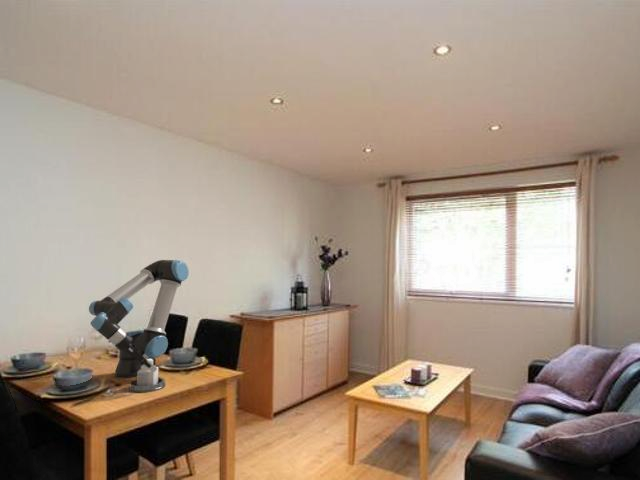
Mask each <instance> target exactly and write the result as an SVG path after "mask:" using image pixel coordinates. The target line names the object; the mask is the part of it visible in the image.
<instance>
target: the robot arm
mask: <svg viewBox="0 0 640 480" xmlns="http://www.w3.org/2000/svg"><path fill="white" fill-rule="evenodd" d="M188 276H189V267H188V265H187V263H186V262H184V261H183V260H178V259H159V260H156V261H154V262H151V263H150V264H148V265H147V266H145V267H144V268H143V269H141V270H140V272H139V273H138V274H137V275H136V276H134V277H133V278H131V279H130V280H128V281H127V282H126V283H124V284H123V285H121V286H120V287H118V288H117V289H115V290H114V291H113V292H110V294H108V295H107V296H105V297H104V298H102V299H101V300H94V301H92V302H91V303H90V304H89V306H88V312H89V313H90V314H91V315H92V316H95V317H94V318H93V319H91V321H90V326H92V327H93V329H94V330H95V332H98V333H99V334H101V336H103V337H104V338H105V339H106V340H108V342H107V343H111V344H112V345H114V346H115V347H116V349H118V350H119V357H118V358H119V359H118V363H117V365H116V368H115V371H114V376H115V378H121V379H127V378H128V379H130V378H136V377H137V372H138V371H139V370H140V369H141V366H142V365H144V366H145V367H146V368H147V369H148V370H150V371H151V372H152V373H154V372H155V371H156V370H157V368H156V367H157V366H156V365H155V366H154V365H153V364H152V363H150V362H149V361H148V360H147V359H145V358H147V357H153V358H155V359H157V358H160V357H161V356H163V355H164V353H166V350H167V348H168V345H169V342H168V338H167V337H166V336H167V333H166V331H165V329H166V327H167V326H166V325H167V323H168V320H169V316H170V314H171V313H170V312H171V309H172V305H173V302H174V300H175V295H176V292H177V289H178V288H179V287H181V285H182V283H183V282H185V281H186V280H187V279H188ZM157 281H159V283H160V288H159V290H158V294H157V297H156V299H155V303H154V307H153V309H152V311H151V316H150V319H149V322H148V325H147V327H145V328H143V329H138V330H129V331H125V330H124V329H123V328H122V327H121V326H120V325H119V324H120V323H121V322H122V320H123V319H124V318H125V317H127V316H128V315H129V314H130V312H131V311H132V310H133V308H134V305H133V303H132V302H131V300H130V298H131V297H133V296H135V294H137V293H138V292H139V291H141V290H142V289H144V288H145V287H146V286H148V285H152V284H154V283H155V282H157Z"/></svg>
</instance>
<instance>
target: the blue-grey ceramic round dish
mask: <svg viewBox="0 0 640 480" xmlns="http://www.w3.org/2000/svg"><path fill="white" fill-rule="evenodd" d="M165 381H166V379H165V378H163V377H159V376H158V383H157V384H154V385H147V386H139V385H137V378H136V379H134V380H132V381H131V383H130V386H129V390H130V391H131V392H134V393H151V392H156V391H159V390H162V389H164V388H165V387H166V382H165Z"/></svg>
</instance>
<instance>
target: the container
mask: <svg viewBox="0 0 640 480" xmlns="http://www.w3.org/2000/svg"><path fill="white" fill-rule="evenodd" d="M145 359H147V360H148V361H149V362H150V363H152V364H153V365H154V366H155V367H156V368H157V370H156V371H155V372H154V373H152V372H151V371H150V370H148V369H147V368H146V367H145V366H144V365H142V366H141V369H140V370H139V371H138V372H137V378H136V379H137V385H139V386H147V385H154V384H157V383H158V377H159V367H158V366H157V365H156V364H157V363H156V361H157V360H156V359H157V358H153V357H147V358H145Z"/></svg>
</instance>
